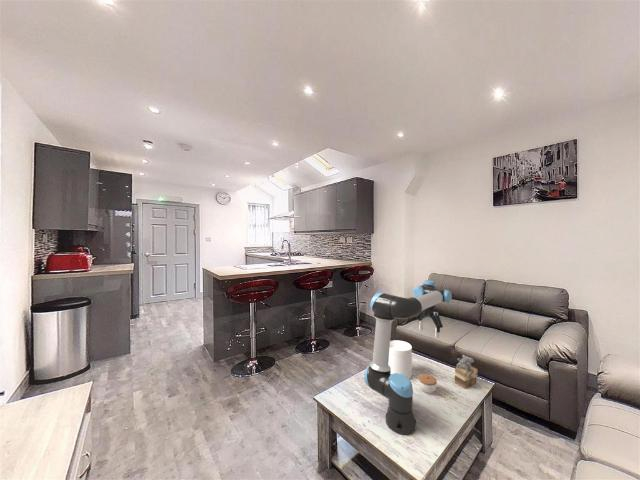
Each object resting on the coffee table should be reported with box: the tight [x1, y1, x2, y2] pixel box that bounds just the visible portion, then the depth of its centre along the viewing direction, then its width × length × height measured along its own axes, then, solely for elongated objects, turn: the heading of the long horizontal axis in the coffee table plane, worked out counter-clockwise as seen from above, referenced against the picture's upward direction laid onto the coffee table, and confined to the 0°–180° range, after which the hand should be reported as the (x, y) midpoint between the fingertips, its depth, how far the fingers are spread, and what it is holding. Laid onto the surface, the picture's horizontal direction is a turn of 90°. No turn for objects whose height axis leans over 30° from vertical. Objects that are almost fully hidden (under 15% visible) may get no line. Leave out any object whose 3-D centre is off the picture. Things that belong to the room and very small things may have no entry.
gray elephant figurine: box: [456, 354, 475, 373], centre depth 163 cm, size 9×12×8 cm
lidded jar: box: [417, 373, 438, 395], centre depth 156 cm, size 11×11×9 cm
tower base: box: [454, 375, 478, 390], centre depth 163 cm, size 12×7×5 cm, turn 117°
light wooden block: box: [454, 365, 479, 381], centre depth 163 cm, size 12×7×5 cm, turn 114°
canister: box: [388, 339, 413, 380], centre depth 174 cm, size 16×16×20 cm
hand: (428, 333), depth 173 cm, fingers open, 13 cm apart
